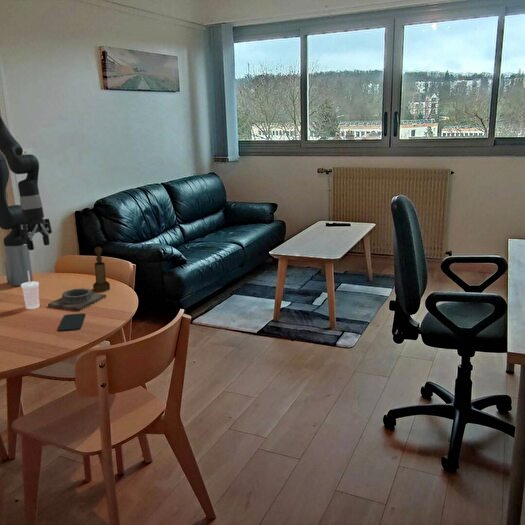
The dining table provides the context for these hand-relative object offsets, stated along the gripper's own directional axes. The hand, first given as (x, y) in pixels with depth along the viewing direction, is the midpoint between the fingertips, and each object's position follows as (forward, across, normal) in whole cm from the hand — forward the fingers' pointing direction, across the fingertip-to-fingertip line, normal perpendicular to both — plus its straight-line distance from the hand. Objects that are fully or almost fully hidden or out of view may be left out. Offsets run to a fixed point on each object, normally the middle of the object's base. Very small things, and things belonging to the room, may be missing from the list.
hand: (39, 247), depth 208 cm
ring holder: (+20, +7, +20) cm, 29 cm away
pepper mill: (+20, -9, +19) cm, 29 cm away
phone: (+21, +25, +32) cm, 46 cm away
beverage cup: (+19, +16, +8) cm, 26 cm away
